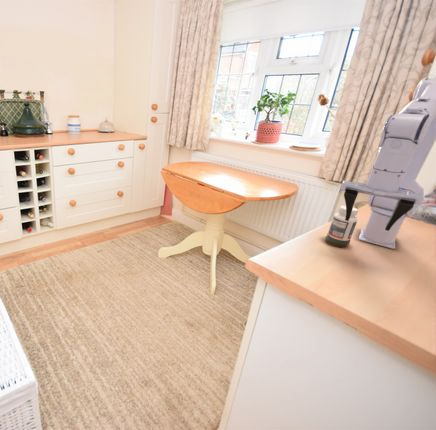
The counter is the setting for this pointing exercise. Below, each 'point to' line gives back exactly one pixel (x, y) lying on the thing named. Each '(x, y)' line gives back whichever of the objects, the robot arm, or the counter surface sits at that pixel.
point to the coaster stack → (336, 242)
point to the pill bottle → (343, 225)
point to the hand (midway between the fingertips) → (366, 224)
